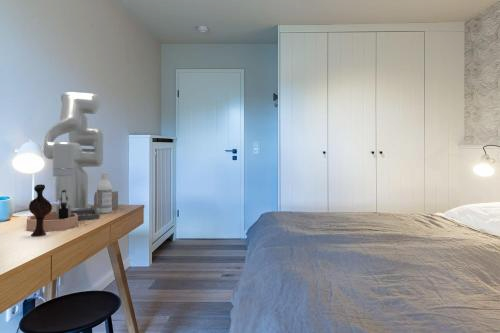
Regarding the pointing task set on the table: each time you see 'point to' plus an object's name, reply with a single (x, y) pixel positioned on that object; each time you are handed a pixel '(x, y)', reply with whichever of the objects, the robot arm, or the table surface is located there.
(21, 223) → the table surface
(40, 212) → the figurine
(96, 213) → the tray
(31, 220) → the bowl
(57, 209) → the grey sharp-edged cuboid
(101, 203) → the bath foam
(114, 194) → the fossil
